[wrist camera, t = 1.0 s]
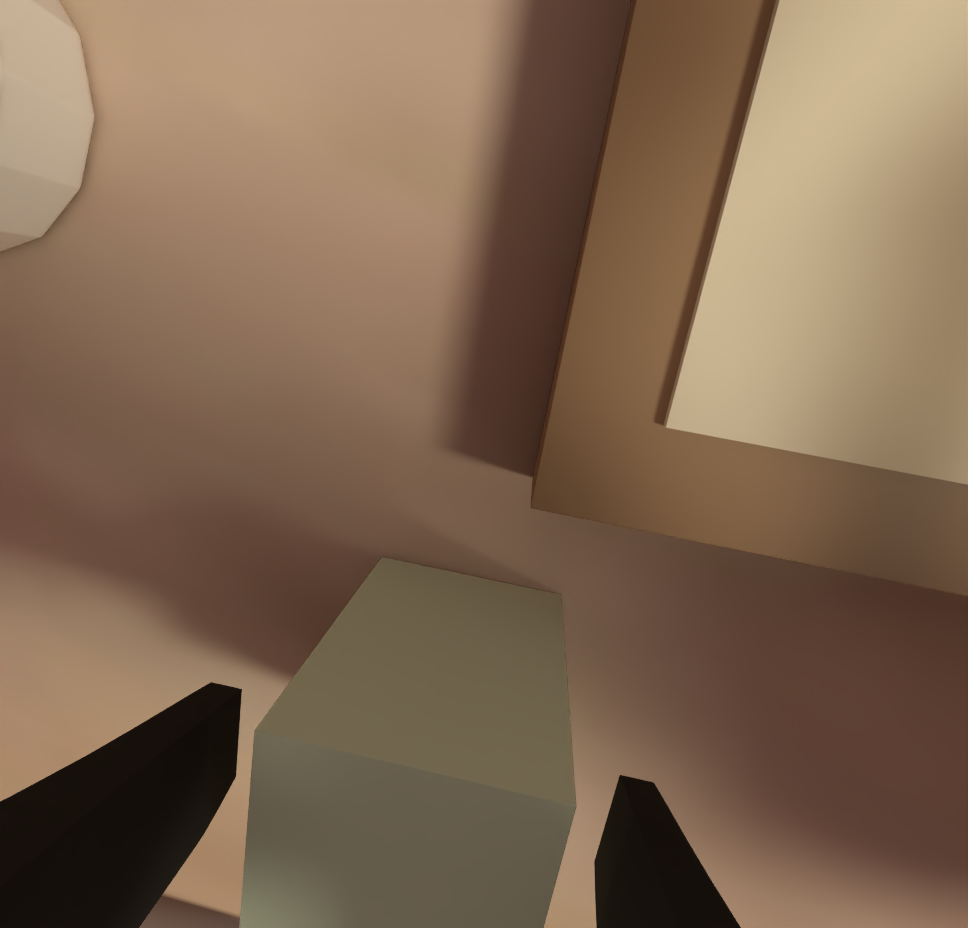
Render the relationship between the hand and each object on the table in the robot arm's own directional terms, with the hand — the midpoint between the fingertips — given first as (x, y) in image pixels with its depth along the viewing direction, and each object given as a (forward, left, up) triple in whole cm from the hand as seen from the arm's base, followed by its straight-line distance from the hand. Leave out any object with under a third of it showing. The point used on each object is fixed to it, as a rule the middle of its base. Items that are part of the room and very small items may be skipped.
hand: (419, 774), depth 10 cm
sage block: (0, 0, -4) cm, 4 cm away
